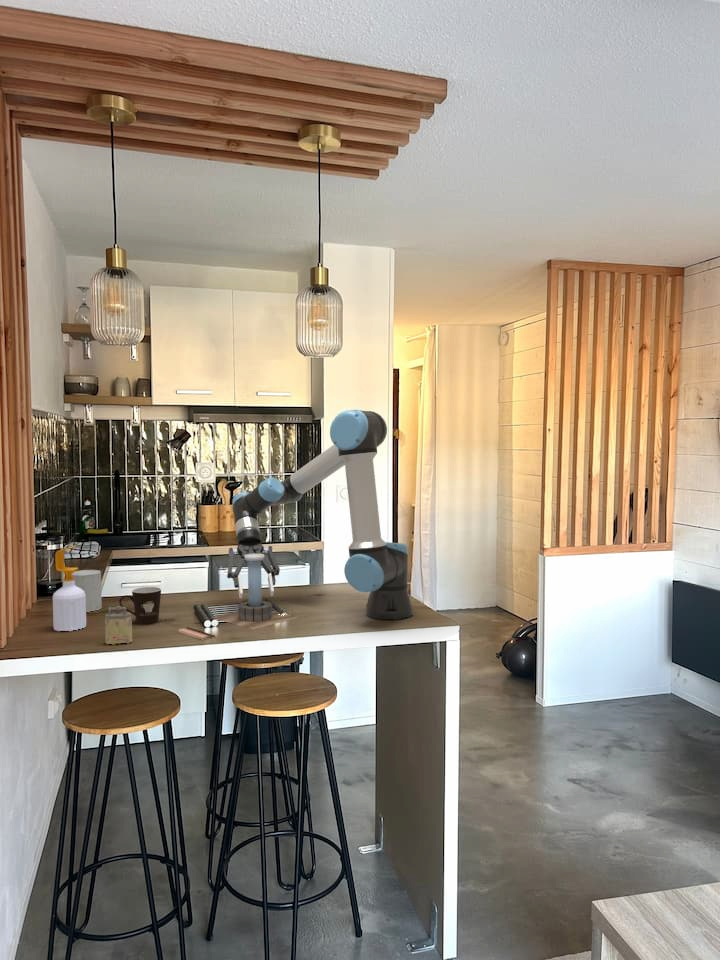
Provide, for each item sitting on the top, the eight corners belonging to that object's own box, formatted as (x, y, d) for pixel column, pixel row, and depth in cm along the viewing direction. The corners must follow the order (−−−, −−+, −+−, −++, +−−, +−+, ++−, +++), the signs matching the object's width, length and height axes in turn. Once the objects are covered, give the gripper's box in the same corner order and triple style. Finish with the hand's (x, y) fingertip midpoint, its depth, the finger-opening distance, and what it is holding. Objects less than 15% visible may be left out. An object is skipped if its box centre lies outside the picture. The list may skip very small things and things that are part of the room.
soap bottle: (76, 632, 204) (74, 548, 203) (47, 631, 205) (44, 548, 204) (92, 624, 213) (90, 543, 212) (63, 623, 214) (61, 543, 213)
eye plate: (299, 622, 215) (299, 604, 215) (252, 634, 202) (252, 615, 201) (257, 611, 228) (257, 594, 228) (211, 622, 215) (211, 604, 215)
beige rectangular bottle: (133, 640, 196) (132, 605, 196) (131, 644, 193) (130, 608, 192) (106, 641, 195) (105, 606, 194) (104, 645, 191) (103, 609, 191)
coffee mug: (165, 618, 220) (164, 586, 219) (156, 625, 211) (156, 593, 211) (128, 618, 220) (127, 586, 220) (118, 625, 212) (117, 592, 211)
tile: (237, 631, 205) (237, 628, 205) (202, 640, 196) (202, 637, 196) (212, 624, 213) (212, 621, 213) (178, 632, 204) (178, 629, 204)
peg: (269, 617, 215) (268, 554, 214) (253, 621, 211) (252, 557, 210) (256, 613, 219) (255, 552, 218) (241, 617, 215) (240, 555, 214)
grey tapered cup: (78, 605, 237) (77, 569, 236) (106, 606, 236) (105, 569, 236) (65, 612, 227) (64, 575, 226) (94, 613, 227) (93, 575, 226)
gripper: (279, 540, 232) (290, 598, 217) (213, 543, 225) (219, 604, 211) (282, 526, 226) (293, 585, 212) (215, 529, 220) (221, 590, 206)
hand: (256, 594), depth 211 cm, fingers open, 9 cm apart
